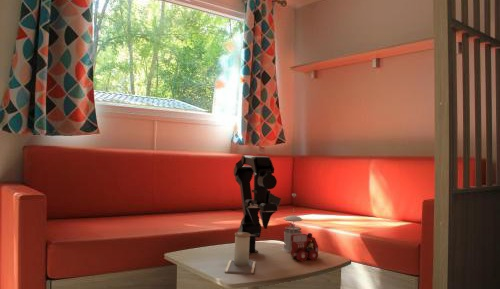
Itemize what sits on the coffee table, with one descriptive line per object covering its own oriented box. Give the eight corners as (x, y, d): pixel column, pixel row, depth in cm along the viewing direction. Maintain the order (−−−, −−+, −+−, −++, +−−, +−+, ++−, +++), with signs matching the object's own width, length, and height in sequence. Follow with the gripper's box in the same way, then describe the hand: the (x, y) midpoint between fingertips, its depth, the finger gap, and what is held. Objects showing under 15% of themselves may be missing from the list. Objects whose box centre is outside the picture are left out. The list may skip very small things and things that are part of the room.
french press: (304, 248, 193) (306, 192, 193) (302, 254, 182) (304, 195, 182) (282, 247, 195) (284, 191, 195) (279, 252, 184) (281, 194, 184)
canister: (234, 261, 164) (235, 231, 164) (249, 262, 164) (250, 232, 164) (232, 265, 158) (234, 234, 158) (248, 266, 158) (249, 235, 158)
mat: (229, 261, 166) (229, 260, 166) (255, 263, 166) (255, 261, 166) (224, 272, 151) (225, 270, 151) (253, 274, 151) (253, 272, 151)
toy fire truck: (322, 260, 174) (322, 234, 174) (295, 262, 169) (295, 235, 169) (313, 256, 180) (313, 231, 180) (286, 258, 175) (287, 232, 176)
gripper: (290, 189, 167) (289, 229, 166) (268, 185, 183) (267, 222, 183) (264, 189, 162) (263, 231, 161) (244, 186, 179) (243, 223, 178)
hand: (260, 226), depth 171 cm, fingers open, 9 cm apart
